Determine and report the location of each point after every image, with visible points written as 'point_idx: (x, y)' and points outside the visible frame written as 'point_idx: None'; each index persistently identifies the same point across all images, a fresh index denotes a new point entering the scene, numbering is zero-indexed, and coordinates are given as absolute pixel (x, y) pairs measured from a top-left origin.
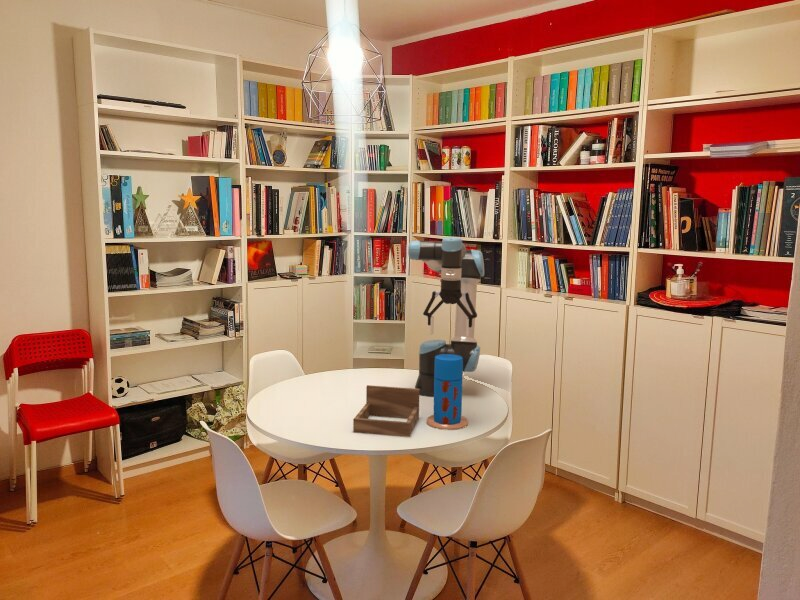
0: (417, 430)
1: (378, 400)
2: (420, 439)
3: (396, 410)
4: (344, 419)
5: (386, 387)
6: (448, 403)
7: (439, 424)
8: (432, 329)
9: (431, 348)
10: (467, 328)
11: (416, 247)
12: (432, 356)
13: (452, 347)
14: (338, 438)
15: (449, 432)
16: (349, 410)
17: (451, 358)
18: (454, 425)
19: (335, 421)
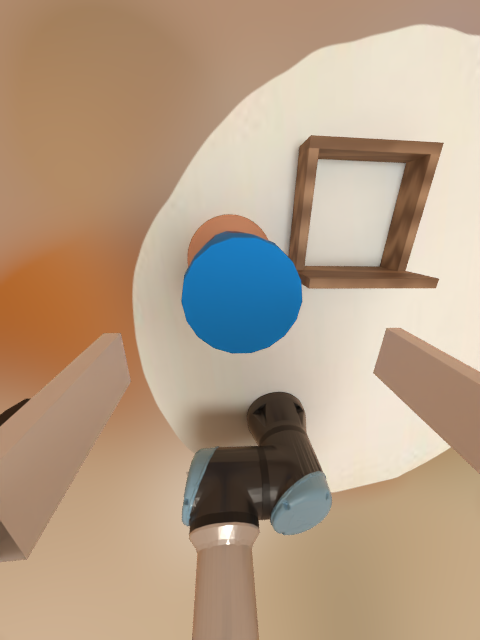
0: (285, 197)
1: (386, 272)
2: (274, 134)
3: (337, 268)
4: (429, 233)
5: (390, 279)
6: (226, 231)
7: (243, 230)
8: (415, 353)
9: (304, 485)
10: (69, 373)
11: None
12: (294, 465)
13: (251, 502)
14: (451, 99)
15: (218, 199)
16: (416, 288)
17: (228, 279)
18: (211, 231)
19: (447, 216)
